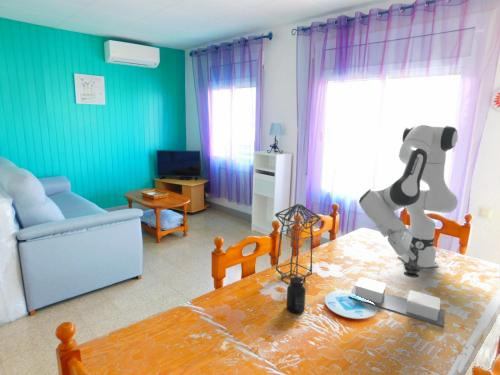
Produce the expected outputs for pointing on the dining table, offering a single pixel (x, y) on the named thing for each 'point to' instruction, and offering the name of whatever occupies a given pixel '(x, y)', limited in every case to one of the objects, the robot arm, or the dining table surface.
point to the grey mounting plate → (401, 301)
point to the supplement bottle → (296, 296)
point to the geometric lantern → (297, 236)
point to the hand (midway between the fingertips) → (415, 256)
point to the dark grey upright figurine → (412, 265)
